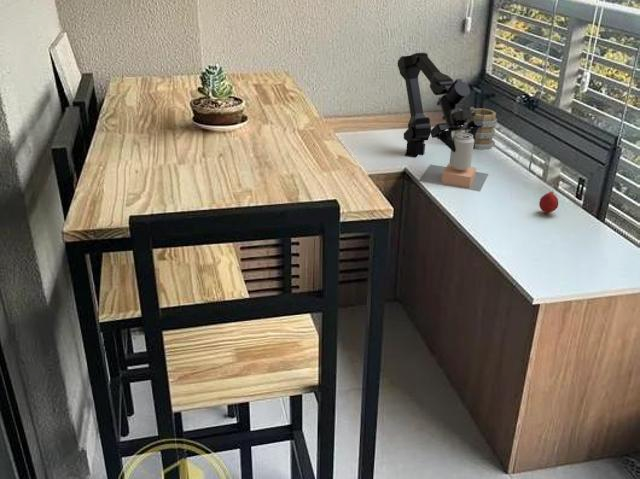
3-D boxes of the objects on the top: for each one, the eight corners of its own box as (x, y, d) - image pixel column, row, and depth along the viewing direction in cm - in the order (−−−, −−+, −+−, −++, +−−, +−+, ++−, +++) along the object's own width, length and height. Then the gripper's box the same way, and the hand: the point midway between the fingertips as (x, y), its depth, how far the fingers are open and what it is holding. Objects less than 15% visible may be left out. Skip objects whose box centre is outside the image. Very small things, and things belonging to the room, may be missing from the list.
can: (462, 172, 225) (466, 139, 219) (444, 166, 229) (448, 134, 224) (474, 167, 229) (479, 135, 223) (457, 161, 234) (461, 129, 228)
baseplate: (418, 183, 231) (418, 180, 230) (430, 166, 246) (430, 164, 245) (479, 194, 224) (480, 191, 223) (488, 176, 238) (488, 173, 238)
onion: (546, 218, 207) (551, 195, 204) (533, 211, 212) (538, 189, 208) (559, 215, 210) (564, 192, 206) (546, 208, 214) (551, 186, 210)
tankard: (484, 138, 277) (489, 104, 270) (498, 148, 266) (504, 113, 259) (441, 141, 273) (445, 106, 266) (454, 151, 262) (458, 115, 255)
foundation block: (441, 183, 229) (442, 172, 227) (447, 173, 237) (448, 163, 235) (469, 187, 226) (470, 177, 224) (474, 178, 234) (476, 167, 232)
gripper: (438, 101, 218) (452, 143, 214) (484, 96, 225) (498, 137, 221) (424, 117, 228) (437, 157, 224) (468, 112, 235) (482, 151, 231)
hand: (464, 150), depth 225 cm, fingers closed on can, 7 cm apart
